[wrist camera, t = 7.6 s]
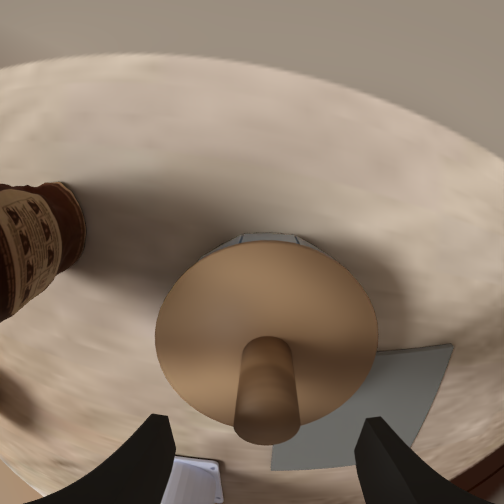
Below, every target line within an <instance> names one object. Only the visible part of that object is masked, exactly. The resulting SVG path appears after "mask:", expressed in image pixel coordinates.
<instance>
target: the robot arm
mask: <svg viewBox="0 0 504 504" xmlns="http://www.w3.org/2000/svg"><path fill="white" fill-rule="evenodd" d="M175 452H176V446H175V442H174V439H173V435H172V431H171V427H170V423H169V419H168V416H164V415H158V414H151V415H150V416H149V417H148V418H147V419H146V420H145V422H144V423H143V424H142V425H141V426H140V427H139V428H138V429H137V430H136V431H135V433H134V434H133V435H132V436H131V437H130V438H129V439H128V440H127V441H126V442H125V443H124V444H123V445H122V446H121V447H120V448H119V449H118V450H116V451H115V452H114V453H113V454H112V455H111V456H110V457H109V458H107V459H106V460H105V461H104V462H103V463H101V464H100V465H99V466H98V467H96V468H95V469H94V470H92V471H91V472H90V473H88V474H87V475H85V476H84V477H82V478H81V479H79V480H77V481H76V482H74V483H72V484H71V485H69V486H67V487H65V488H63V489H61V490H59V491H57V492H55V493H52V494H50V495H48V496H45V497H43V498H40V499H37V500H35V501H31V502H28V503H24V504H214V503H223V501H224V499H223V492H222V486H221V479H220V472H219V464H218V462H216V461H212V460H202V459H194V458H186V457H179V456H175ZM354 455H355V462H356V469H357V474H358V478H359V481H360V485H361V488H362V492H363V495H364V499H365V502H366V504H494V503H491V502H488V501H486V500H483V499H481V498H478V497H476V496H474V495H472V494H470V493H468V492H466V491H464V490H462V489H461V488H459V487H457V486H456V485H454V484H452V483H451V482H449V481H448V480H447V479H445V478H444V477H442V476H441V475H440V474H438V473H437V472H436V471H434V470H433V469H432V468H431V467H430V466H429V465H427V464H426V463H425V462H424V461H423V460H422V459H421V458H420V457H419V456H418V455H417V454H416V453H415V452H414V451H413V450H412V449H411V448H410V447H409V446H408V445H407V444H406V443H405V442H404V441H403V440H402V439H401V438H400V437H399V436H398V435H397V434H396V432H395V431H394V430H393V429H392V428H391V427H390V426H389V425H388V424H387V422H386V421H385V420H384V419H383V418H382V417H381V416H379V417H371V418H366V419H365V422H364V425H363V427H362V430H361V433H360V436H359V438H358V441H357V444H356V446H355V449H354Z"/></svg>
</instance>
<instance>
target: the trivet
mask: <svg viewBox="0 0 504 504" xmlns="http://www.w3.org/2000/svg"><path fill="white" fill-rule="evenodd" d="M453 348H454V346H453V345H452V344H445V345H437V346H430V347H422V348H413V349H404V350H394V351H382V352H376V355H375V359H374V362H373V365H372V367H371V370H370V372H369V373H368V375H367V377H366V379H365V381H364V382H363V383H362V385H361V386H360V387H359V389H358V390H357V391H356V392H355V393H354V394H353V395H352V397H351V398H350V399H349V400H347V401H346V402H345V403H344V404H343V405H341V406H340V407H339V408H337V409H336V410H334V411H333V412H331V413H330V414H328V415H326V416H324V417H322V418H320V419H318V420H316V421H313V422H311V423H308V424H305V425H302V426H300V429H299V431H298V433H297V434H296V435H295V436H294V437H293V438H291V439H290V440H288V441H286V442H283V443H280V444H276V445H273V451H272V461H271V471H284V470H309V469H323V468H334V467H343V466H351V465H356V462H355V455H354V449H355V446H356V444H357V441H358V438H359V436H360V433H361V430H362V427H363V425H364V422H365V419H366V418H371V417H379V416H381V417H382V418H383V419H384V420H385V421H386V422H387V424H388V425H389V426H390V427H391V428H392V429H393V430H394V431H395V432H396V434H397V435H398V436H399V437H400V438H401V439H402V440H403V441H404V442H405V443H406V444H407V445H408V446H409V447H411V445H412V443H413V441H414V439H415V437H416V435H417V433H418V432H419V430H420V428H421V426H422V424H423V421H424V419H425V417H426V415H427V413H428V411H429V409H430V407H431V404H432V402H433V400H434V397H435V395H436V393H437V390H438V388H439V386H440V383H441V381H442V378H443V375H444V373H445V370H446V368H447V365H448V362H449V359H450V356H451V353H452V351H453Z"/></svg>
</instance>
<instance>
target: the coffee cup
mask: <svg viewBox="0 0 504 504" xmlns="http://www.w3.org/2000/svg"><path fill="white" fill-rule="evenodd" d="M85 235H86V228H85V222H84V217H83V214H82V211H81V208H80V205H79V204H78V202H77V200H76V199H75V197H74V195H73V193H72V192H71V190H68V189H67V188H66V187H65V186H64V185H63V184H62V183H60V182H53V183H44V184H42V185H40V186H38V187H31V186H29V185H26V186H14V187H12V186H10V185H6V184H0V322H2V321H3V320H5V319H7V318H9V317H11V316H13V315H14V314H15V313H16V312H18V311H19V310H20V309H21V308H22V307H23V306H24V305H26V304H27V303H28V302H29V301H30V300H31V299H33V298H34V297H36V296H37V295H39V294H40V293H41V292H43V291H44V290H45V289H46V288H47V287H48V286H49V285H50V283H51V282H52V281H53V280H54V278H55V276H56V275H58V274H59V273H61V272H63V271H65V270H67V269H68V268H70V267H71V266H72V265H73V264H74V263H76V262H77V261H78V259H79V258H80V256H81V254H82V251H83V248H84V243H85Z"/></svg>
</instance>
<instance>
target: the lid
mask: <svg viewBox="0 0 504 504" xmlns="http://www.w3.org/2000/svg"><path fill="white" fill-rule="evenodd" d="M155 346H156V352H157V357H158V360H159V363H160V366H161V369H162V371H163V373H164V375H165V377H166V379H167V380H168V382H169V383H170V385H171V386H172V387H173V389H174V390H175V391H176V392H177V393H178V394H179V396H180V397H181V398H182V399H183V400H185V401H186V402H187V403H188V404H189V405H190V406H192V407H193V408H194V409H196V410H197V411H199V412H200V413H202V414H204V415H206V416H207V417H209V418H211V419H213V420H216V421H218V422H221V423H223V424H226V425H230V426H233V427H234V430H235V432H236V433H237V435H238V436H239V437H241V438H242V439H244V440H245V441H247V442H250V443H253V444H257V445H276V444H280V443H283V442H286V441H288V440H290V439H291V438H293V437H294V436H295V435H296V434H297V433H298V431H299V429H300V426H302V425H305V424H308V423H311V422H313V421H316V420H318V419H320V418H322V417H324V416H326V415H328V414H330V413H331V412H333V411H334V410H336V409H337V408H339V407H340V406H341V405H343V404H344V403H345V402H346V401H347V400H349V399H350V398H351V397H352V395H353V394H354V393H355V392H356V391H357V390H358V389H359V387H360V386H361V385H362V383H363V382H364V381H365V379H366V377H367V375H368V373H369V372H370V370H371V367H372V365H373V362H374V359H375V355H376V351H377V346H378V325H377V319H376V315H375V311H374V309H373V306H372V304H371V302H370V299H369V297H368V296H367V294H366V293H365V291H364V289H363V288H362V286H361V285H360V284H359V283H358V281H357V280H356V279H355V278H354V277H353V276H352V275H351V273H350V272H349V271H348V270H347V269H346V268H344V267H343V266H342V265H341V264H340V263H338V262H337V261H336V260H334V259H332V258H331V257H329V256H327V255H326V254H324V253H322V252H320V251H317V250H315V249H313V248H310V247H307V246H304V245H300V244H297V243H292V242H285V241H278V240H259V241H250V242H243V243H239V244H235V245H231V246H228V247H225V248H223V249H220V250H218V251H215V252H213V253H211V254H210V255H208V256H206V257H204V258H203V259H201V260H199V261H198V262H197V263H195V264H194V265H193V266H192V267H190V268H189V269H188V270H187V271H186V272H185V273H184V274H183V275H182V276H181V277H180V278H179V279H178V281H177V282H176V283H175V285H174V286H173V287H172V289H171V290H170V292H169V293H168V295H167V296H166V298H165V300H164V302H163V304H162V306H161V308H160V311H159V315H158V318H157V322H156V329H155Z"/></svg>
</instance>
